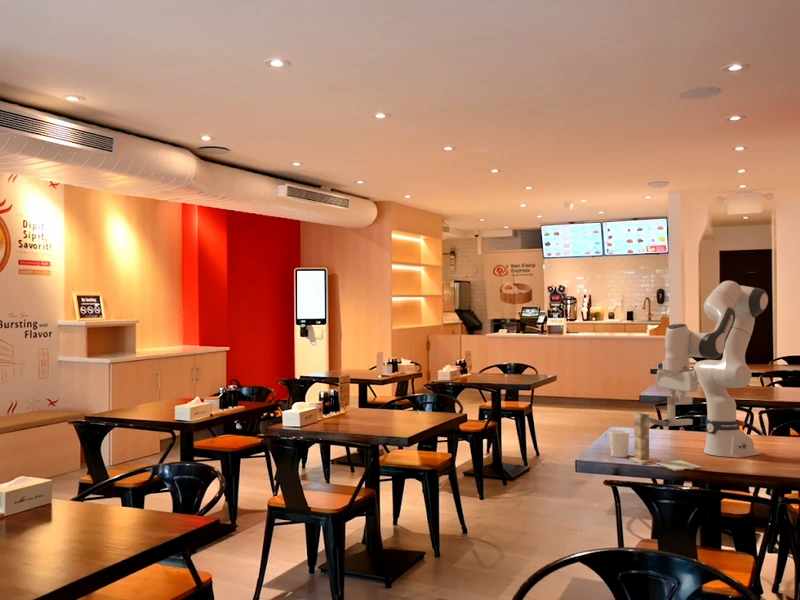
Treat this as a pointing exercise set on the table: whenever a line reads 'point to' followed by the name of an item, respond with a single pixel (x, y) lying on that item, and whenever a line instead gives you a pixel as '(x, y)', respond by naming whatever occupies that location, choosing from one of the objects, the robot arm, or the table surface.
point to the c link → (671, 411)
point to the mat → (678, 465)
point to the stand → (644, 437)
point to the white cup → (619, 443)
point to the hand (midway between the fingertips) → (677, 401)
